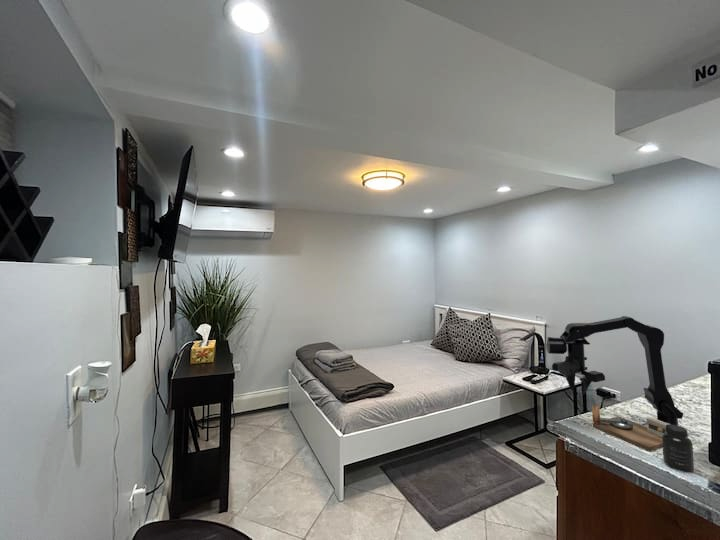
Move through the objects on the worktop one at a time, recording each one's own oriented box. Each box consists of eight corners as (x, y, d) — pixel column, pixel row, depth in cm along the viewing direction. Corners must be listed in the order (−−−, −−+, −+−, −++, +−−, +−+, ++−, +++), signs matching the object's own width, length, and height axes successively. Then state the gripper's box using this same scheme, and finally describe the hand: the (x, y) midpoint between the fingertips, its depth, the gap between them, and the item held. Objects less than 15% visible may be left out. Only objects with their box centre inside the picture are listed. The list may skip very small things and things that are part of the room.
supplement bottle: (662, 457, 104) (660, 420, 104) (692, 464, 100) (690, 426, 100) (664, 467, 99) (662, 429, 99) (696, 475, 95) (694, 435, 95)
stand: (618, 419, 130) (617, 404, 130) (676, 442, 112) (676, 424, 112) (592, 426, 125) (592, 410, 125) (650, 451, 107) (649, 432, 107)
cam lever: (628, 421, 124) (627, 406, 124) (636, 430, 118) (635, 414, 118) (589, 417, 129) (589, 403, 129) (595, 425, 122) (595, 410, 122)
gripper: (541, 351, 137) (543, 387, 137) (584, 362, 119) (586, 403, 119) (560, 348, 140) (562, 383, 140) (604, 358, 123) (607, 398, 123)
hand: (577, 392), depth 130 cm, fingers open, 4 cm apart
